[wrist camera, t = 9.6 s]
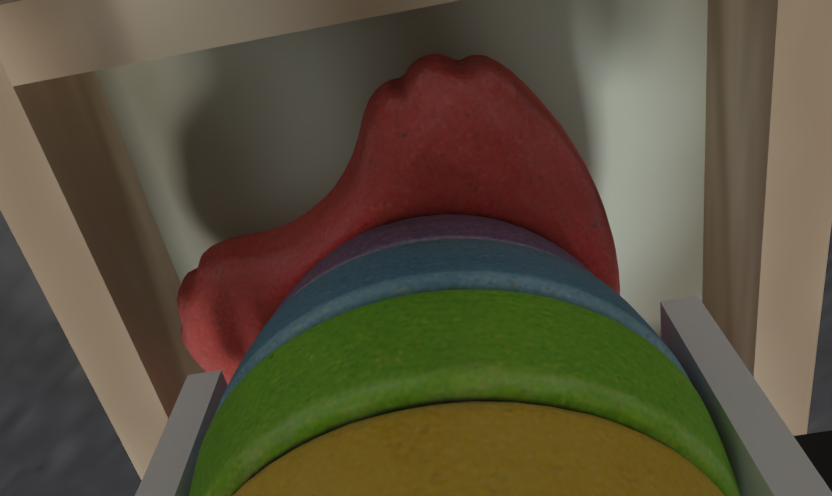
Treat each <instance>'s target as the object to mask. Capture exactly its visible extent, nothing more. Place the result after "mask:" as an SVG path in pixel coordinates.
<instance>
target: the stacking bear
mask: <svg viewBox="0 0 832 496" xmlns="http://www.w3.org/2000/svg"><path fill="white" fill-rule="evenodd" d="M177 307H178V313H179V317H180V320H181V323H182V325H181V338H182V340H183V343H184V345H185V346H186V348H187V349H188V351H189V353H190V354H191V356H192V357H193V358H194V360H195V361H196V362H197V363H198V364H199V365H200V366H201V367H202V368H203V369H204V370H205V371H206V372H211V371H217V370H222V373H223V375H224V378H225V380H226V383H227V385H228V386H227V388H226V390H225V391H224V393H223V395H222V398H221V400H220V403H219V405H218V408H217V410H216V413H215V415H214V417H213V420H212V422H211V424H210V426H209V428H208V430H207V433H206V435H205V437H204V439H203V441H202V444H201V447H200V450H199V453H198V457H197V462H196V466H195V470H194V474H193V478H192V483H191V488H190V493H189V496H741V493H740V490H739V487H738V484H737V481H736V478H735V475H734V472H733V469H732V467H731V464H730V461H729V459H728V456H727V453H726V451H725V448H724V445H723V443H722V440H721V438H720V436H719V434H718V432H717V429H716V427H715V425H714V423H713V421H712V419H711V416H710V414H709V412H708V410H707V408H706V406H705V404H704V402H703V401H702V399H701V397H700V395H699V394H698V392H697V391H696V389H695V388H694V386H693V385H692V383H691V381H690V379H689V377H688V375H687V374H686V372H685V371H684V369H683V367H682V366H681V364H680V363H679V361H678V359H677V358H676V356H675V355H674V354H673V353H672V351H671V350H670V349H669V348H668V347H667V345H666V344H665V343H664V342H663V341H662V340H661V338H660V337H659V336H658V335H657V334H656V332H655V331H654V330H653V329H652V328H651V327H650V325H649V324H648V323H647V322H646V321H645V320H644V319H643V318H642V316H641V315H640V314H639V313H638V312H637V311H636V310H635V309H634V308H633V307H632V306H631V305H630V304H629V303H628V302H627V301H626V300H625V299H623V298H622V297H621V296H620V281H619V268H618V262H617V255H616V248H615V244H614V239H613V235H612V232H611V228H610V225H609V221H608V218H607V215H606V211H605V208H604V205H603V203H602V200H601V197H600V195H599V192H598V190H597V188H596V185H595V183H594V181H593V179H592V177H591V175H590V173H589V171H588V169H587V166H586V164H585V162H584V161H583V159H582V157H581V156H580V154H579V152H578V151H577V149H576V148H575V146H574V144H573V143H572V141H571V140H570V138H569V136H568V135H567V133H566V132H565V130H564V128H563V127H562V126H561V125H560V123H559V122H558V121H557V120H556V118H555V117H554V116H553V115H552V113H551V112H550V111H549V110H548V109H547V107H546V106H545V105H544V104H543V103H542V101H541V100H540V99H539V98H538V97H537V96H536V95H535V94H534V93H533V92H532V90H531V89H530V88H529V87H528V86H527V85H526V84H525V83H524V82H523V81H522V80H521V79H519V78H518V77H517V76H516V75H515V74H514V73H513V72H512V71H511V70H509V69H508V68H506V67H505V66H504V65H502V64H501V63H499V62H498V61H496V60H494V59H492V58H490V57H488V56H485V55H470V56H468V57H465V58H463V59H461V60H454V59H452V58H450V57H448V56H444V55H441V54H438V53H437V54H429V55H426V56H423V57H420V58H418V59H417V60H415V61H414V62H413V63H412V64H411V65H410V66H409V67H408V69H407V71H406V73H405V74H404V75H403V76H402V77H399V78H395V79H391V80H389V81H387V82H385V83H383V84H382V85H381V86H379V87H378V88H377V89H376V90H375V92H374V93H373V94H372V96H371V97H370V99H369V101H368V103H367V106H366V108H365V111H364V113H363V118H362V122H361V127H360V131H359V135H358V139H357V142H356V145H355V148H354V151H353V154H352V157H351V159H350V161H349V163H348V165H347V167H346V169H345V171H344V173H343V174H342V176H341V177H340V179H339V180H338V182H337V183H336V185H335V187H334V188H333V189H332V190H331V191H330V192H329V193H328V195H327V196H326V197H325V198H324V199H322V200H321V201H320V202H319V203H318V204H317V205H315V206H314V207H313V208H312V209H311V210H309V211H308V212H306V213H305V214H304V215H302V216H300V217H299V218H297V219H295V220H293V221H292V222H289V223H287V224H285V225H283V226H281V227H278V228H275V229H271V230H267V231H263V232H258V233H252V234H247V235H242V236H237V237H231V238H229V239H226V240H224V241H222V242H219V243H217V244H215V245H213V246H211V247H210V248H209V249H208V250H206V251H205V252H204V253H203V254H202V256H201V258H200V261H199V265H198V268H196V269H193V270H192V271H190V272H188V273H187V274H186V276H185V277H184V279H183V281H182V283H181V286H180V288H179V290H178V295H177Z"/></svg>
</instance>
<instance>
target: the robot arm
mask: <svg viewBox="0 0 832 496" xmlns="http://www.w3.org/2000/svg"><path fill="white" fill-rule="evenodd" d="M660 318H661V340H662V341H663V342H664V343H665V344H666V345H667V347H668V348H669V349H670V350H671V351H672V353H673V354H674V355H675V356H676V358H677V359H678V361H679V363H680V364H681V366H682V367H683V369H684V371H685V372H686V374H687V375H688V377H689V379H690V381H691V383H692V385H693V386H694V388H695V389H696V391H697V392H698V394H699V395H700V397H701V399H702V401H703V402H704V404H705V406H706V408H707V410H708V412H709V414H710V416H711V419H712V421H713V423H714V425H715V427H716V429H717V432H718V434H719V436H720V438H721V440H722V443H723V445H724V448H725V451H726V453H727V456H728V459H729V461H730V464H731V467H732V469H733V472H734V475H735V478H736V481H737V484H738V487H739V490H740V493H741V496H832V431H826V432H818V433H811V434H804V435H797V436H793V435H792V433H791V432H790V430H789V429H788V427H787V426H786V424H785V423H784V421H783V420H782V418H781V417H780V416H779V414H778V413H777V411H776V410H775V408H774V407H773V405H772V404H771V402H770V401H769V399H768V398H767V396H766V395H765V394H764V392H763V391H762V389H761V388H760V386H759V385H758V383H757V382H756V380H755V379H754V377H753V376H752V374H751V373H750V372H749V370H748V369H747V367H746V366H745V364H744V363H743V361H742V360H741V358H740V357H739V355H738V354H737V353H736V351H735V350H734V348H733V347H732V345H731V344H730V342H729V341H728V339H727V338H726V336H725V335H724V333H723V332H722V331H721V329H720V328H719V326H718V325H717V323H716V322H715V320H714V319H713V317H712V316H711V314H710V313H709V312H708V310H707V309H706V307H705V306H704V304H703V303H702V301H701V300H700V298H699V297H698V296H693V297H686V298H680V299H674V300H667V301H661V302H660ZM227 386H228V385H227V383H226V380H225V378H224V375H223V373H222V370H217V371H211V372H205V373H198V374H192V375H188V376H187V378H186V380H185V382H184V385H183V387H182V389H181V392H180V394H179V396H178V398H177V401H176V403H175V405H174V408H173V410H172V412H171V415H170V417H169V419H168V421H167V424H166V426H165V428H164V431H163V433H162V435H161V438H160V440H159V442H158V444H157V447H156V449H155V451H154V454H153V456H152V458H151V460H150V463H149V465H148V467H147V470H146V472H145V474H144V477H143V479H142V481H141V483H140V486H139V488H138V490H137V493H136V495H135V496H189V493H190V488H191V483H192V478H193V474H194V470H195V466H196V462H197V457H198V453H199V450H200V447H201V444H202V441H203V439H204V437H205V435H206V433H207V430H208V428H209V426H210V424H211V422H212V420H213V417H214V415H215V413H216V410H217V408H218V405H219V403H220V400H221V398H222V395H223V393H224V391H225V390H226V388H227Z"/></svg>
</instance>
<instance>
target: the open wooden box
mask: <svg viewBox="0 0 832 496" xmlns="http://www.w3.org/2000/svg"><path fill="white" fill-rule="evenodd" d="M437 53H438V54H441V55H444V56H448V57H450V58H452V59H454V60H461V59H463V58H465V57H468V56H470V55H485V56H488V57H490V58H492V59H494V60H496V61H498V62H499V63H501V64H502V65H504V66H505V67H506V68H508V69H509V70H511V71H512V72H513V73H514V74H515V75H516V76H517V77H518V78H519V79H521V80H522V81H523V82H524V83H525V84H526V85H527V86H528V87H529V88H530V89H531V90H532V92H533V93H534V94H535V95H536V96H537V97H538V98H539V99H540V100H541V101H542V103H543V104H544V105H545V106H546V107H547V109H548V110H549V111H550V112H551V113H552V115H553V116H554V117H555V118H556V120H557V121H558V122H559V123H560V125H561V126H562V127H563V128H564V130H565V132H566V133H567V135H568V136H569V138H570V140H571V141H572V143H573V144H574V146H575V148H576V149H577V151H578V152H579V154H580V156H581V157H582V159H583V161H584V162H585V164H586V166H587V169H588V171H589V173H590V175H591V177H592V179H593V181H594V183H595V185H596V188H597V190H598V192H599V195H600V197H601V200H602V203H603V205H604V208H605V211H606V215H607V218H608V221H609V225H610V228H611V232H612V235H613V239H614V244H615V248H616V255H617V262H618V268H619V281H620V296H621V297H622V298H623V299H625V300H626V301H627V302H628V303H629V304H630V305H631V306H632V307H633V308H634V309H635V310H636V311H637V312H638V313H639V314H640V315H641V316H642V318H643V319H644V320H645V321H646V322H647V323H648V324H649V325H650V327H651V328H652V329H653V330H654V331H655V332H656V334H657V335H658V336H659V337H660V338H661V318H660V302H661V301H667V300H674V299H680V298H686V297H693V296H698V297H699V298H700V300H701V301H702V303H703V304H704V306H705V307H706V309H707V310H708V312H709V313H710V314H711V316H712V317H713V319H714V320H715V322H716V323H717V325H718V326H719V328H720V329H721V331H722V332H723V333H724V335H725V336H726V338H727V339H728V341H729V342H730V344H731V345H732V347H733V348H734V350H735V351H736V353H737V354H738V355H739V357H740V358H741V360H742V361H743V363H744V364H745V366H746V367H747V369H748V370H749V372H750V373H751V374H752V376H753V377H754V379H755V380H756V382H757V383H758V385H759V386H760V388H761V389H762V391H763V392H764V394H765V395H766V396H767V398H768V399H769V401H770V402H771V404H772V405H773V407H774V408H775V410H776V411H777V413H778V414H779V416H780V417H781V418H782V420H783V421H784V423H785V424H786V426H787V427H788V429H789V430H790V432H791V433H792V435H793V436H797V435H804V434H807V427H808V418H809V410H810V401H811V393H812V384H813V376H814V367H815V359H816V350H817V342H818V334H819V325H820V317H821V308H822V300H823V291H824V283H825V274H826V266H827V257H828V249H829V240H830V232H831V223H832V0H0V210H1V212H2V214H3V216H4V218H5V220H6V222H7V224H8V225H9V227H10V229H11V231H12V233H13V235H14V237H15V239H16V241H17V243H18V245H19V247H20V248H21V250H22V252H23V254H24V256H25V258H26V260H27V262H28V264H29V266H30V268H31V270H32V271H33V273H34V275H35V277H36V279H37V281H38V283H39V285H40V287H41V289H42V291H43V293H44V294H45V296H46V298H47V300H48V302H49V304H50V306H51V308H52V310H53V312H54V314H55V316H56V317H57V319H58V321H59V323H60V325H61V327H62V329H63V331H64V333H65V335H66V337H67V339H68V340H69V342H70V344H71V346H72V348H73V350H74V352H75V354H76V356H77V358H78V360H79V362H80V363H81V365H82V367H83V369H84V371H85V373H86V375H87V377H88V379H89V381H90V383H91V385H92V386H93V388H94V390H95V392H96V394H97V396H98V398H99V400H100V402H101V404H102V406H103V408H104V409H105V411H106V413H107V415H108V417H109V419H110V421H111V423H112V425H113V427H114V429H115V431H116V432H117V434H118V436H119V438H120V440H121V442H122V444H123V446H124V448H125V450H126V452H127V454H128V455H129V457H130V459H131V461H132V463H133V465H134V467H135V469H136V471H137V473H138V475H139V476H140V478H141V480H142V479H143V477H144V474H145V472H146V470H147V467H148V465H149V463H150V460H151V458H152V456H153V454H154V451H155V449H156V447H157V444H158V442H159V440H160V438H161V435H162V433H163V431H164V428H165V426H166V424H167V421H168V419H169V417H170V415H171V412H172V410H173V408H174V405H175V403H176V401H177V398H178V396H179V394H180V392H181V389H182V387H183V385H184V382H185V380H186V378H187V376H188V375H192V374H198V373H205V372H206V371H205V370H204V369H203V368H202V367H201V366H200V365H199V364H198V363H197V362H196V361H195V360H194V358H193V357H192V356H191V354H190V353H189V351H188V349H187V348H186V346H185V345H184V343H183V340H182V338H181V325H182V323H181V320H180V317H179V313H178V307H177V295H178V290H179V288H180V286H181V283H182V281H183V279H184V277H185V276H186V274H187V273H188V272H190V271H192V270H193V269H196V268H198V265H199V261H200V258H201V256H202V254H203V253H204V252H205V251H206V250H208V249H209V248H210V247H211V246H213V245H215V244H217V243H219V242H222V241H224V240H226V239H229V238H231V237H237V236H242V235H247V234H252V233H258V232H263V231H267V230H271V229H275V228H278V227H281V226H283V225H285V224H287V223H289V222H292V221H293V220H295V219H297V218H299V217H300V216H302V215H304V214H305V213H306V212H308V211H309V210H311V209H312V208H313V207H314V206H315V205H317V204H318V203H319V202H320V201H321V200H322V199H324V198H325V197H326V196H327V195H328V193H329V192H330V191H331V190H332V189H333V188H334V187H335V185H336V183H337V182H338V180H339V179H340V177H341V176H342V174H343V173H344V171H345V169H346V167H347V165H348V163H349V161H350V159H351V157H352V154H353V151H354V148H355V145H356V142H357V139H358V135H359V131H360V127H361V122H362V118H363V113H364V111H365V108H366V106H367V103H368V101H369V99H370V97H371V96H372V94H373V93H374V92H375V90H376V89H377V88H378V87H379V86H381V85H382V84H383V83H385V82H387V81H389V80H391V79H395V78H399V77H402V76H403V75H404V74H405V73H406V71H407V69H408V67H409V66H410V65H411V64H412V63H413V62H414V61H415V60H417V59H418V58H420V57H423V56H426V55H429V54H437Z"/></svg>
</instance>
